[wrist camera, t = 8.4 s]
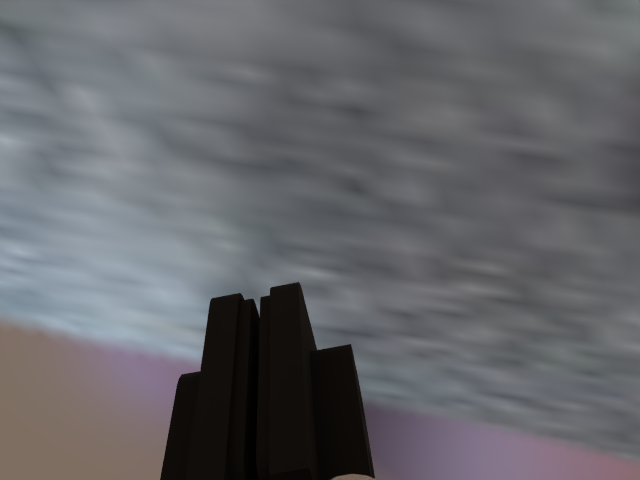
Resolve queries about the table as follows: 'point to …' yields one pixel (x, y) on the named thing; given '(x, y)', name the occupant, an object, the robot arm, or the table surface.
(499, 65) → the table surface
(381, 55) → the table surface
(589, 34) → the table surface
